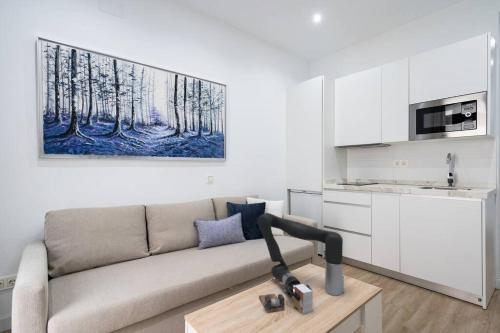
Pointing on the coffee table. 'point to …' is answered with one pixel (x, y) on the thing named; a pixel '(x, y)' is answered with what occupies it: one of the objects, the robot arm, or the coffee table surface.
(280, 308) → the stand
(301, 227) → the robot arm
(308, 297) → the small box
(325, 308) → the coffee table surface
